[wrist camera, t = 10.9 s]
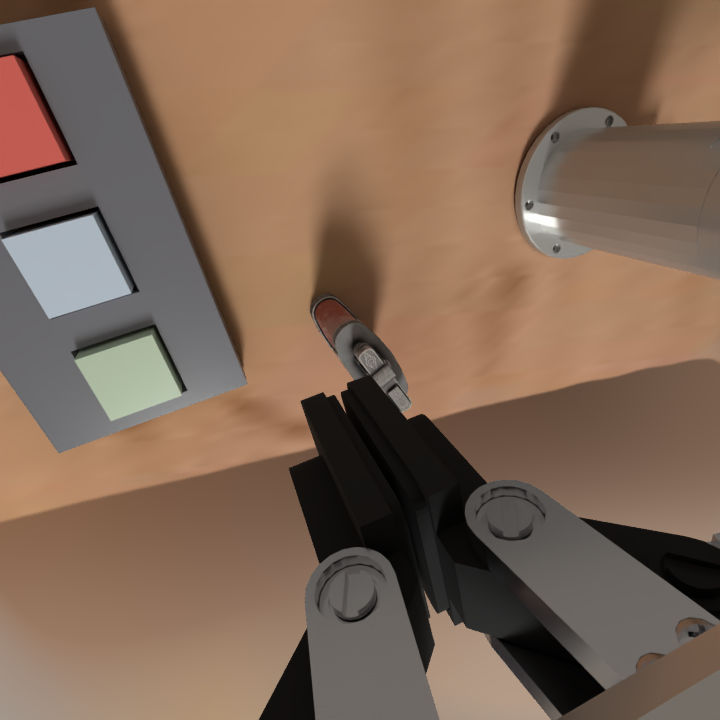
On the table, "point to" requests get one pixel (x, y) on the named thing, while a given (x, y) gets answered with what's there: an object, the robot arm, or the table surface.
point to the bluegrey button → (71, 263)
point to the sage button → (130, 372)
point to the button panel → (129, 229)
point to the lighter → (359, 348)
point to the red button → (27, 123)
